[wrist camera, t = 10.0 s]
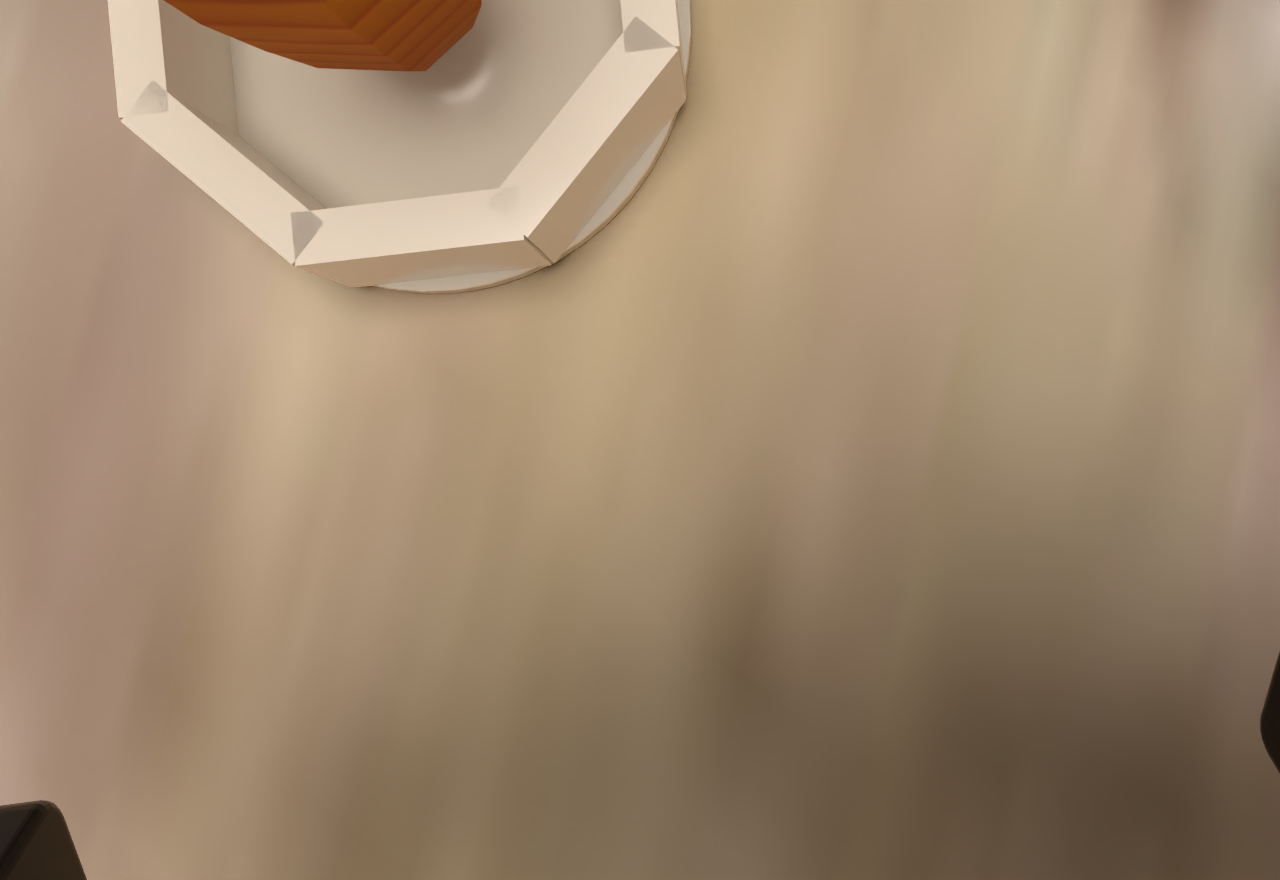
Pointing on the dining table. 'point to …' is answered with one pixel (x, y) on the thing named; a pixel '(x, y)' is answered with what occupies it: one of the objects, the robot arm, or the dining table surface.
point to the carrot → (342, 29)
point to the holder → (417, 136)
